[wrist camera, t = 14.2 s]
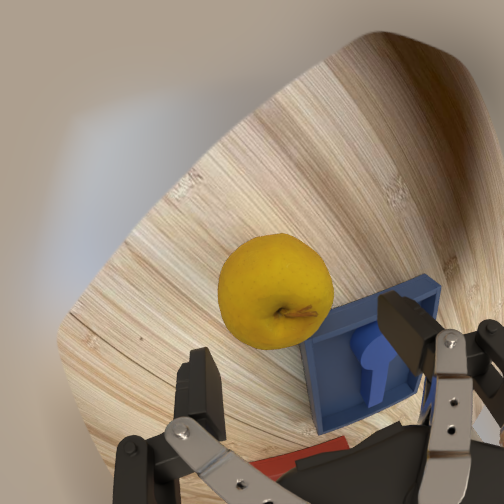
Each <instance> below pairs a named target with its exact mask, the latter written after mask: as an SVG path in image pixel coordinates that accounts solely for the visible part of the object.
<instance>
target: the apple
mask: <svg viewBox="0 0 504 504" xmlns="http://www.w3.org/2000/svg"><path fill="white" fill-rule="evenodd" d="M333 299H334V288H333V284H332V280H331V276H330V274H329V272H328V269H327V267H326V265H325V263H324V261H323V260H322V258H321V257H320V256H319V255H318V254H317V253H316V252H315V251H314V250H313V249H311V248H310V247H309V246H307V245H306V244H305V243H303V242H302V241H300V240H298V239H297V238H295V237H293V236H291V235H288V234H284V233H280V234H273V235H266V236H261V237H256V238H253V239H251V240H250V241H248V242H246V243H244V244H243V245H241V246H240V247H239V248H238V249H237V250H236V251H235V252H233V253H232V254H231V255H230V257H229V258H228V259H227V260H226V262H225V263H224V265H223V267H222V270H221V273H220V277H219V283H218V303H219V308H220V311H221V315H222V319H223V321H224V323H225V325H226V327H227V329H228V330H229V331H230V332H231V333H232V335H233V336H234V337H236V338H237V339H238V340H239V341H241V342H243V343H245V344H247V345H249V346H251V347H254V348H256V349H261V350H274V349H281V348H286V347H290V346H294V345H297V344H299V343H301V342H303V341H305V340H307V339H308V338H309V337H311V336H312V335H313V334H314V333H315V332H316V331H317V330H318V329H319V327H320V325H321V324H322V322H323V321H324V319H325V318H326V317H327V315H328V313H329V311H330V309H331V306H332V304H333Z"/></svg>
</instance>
